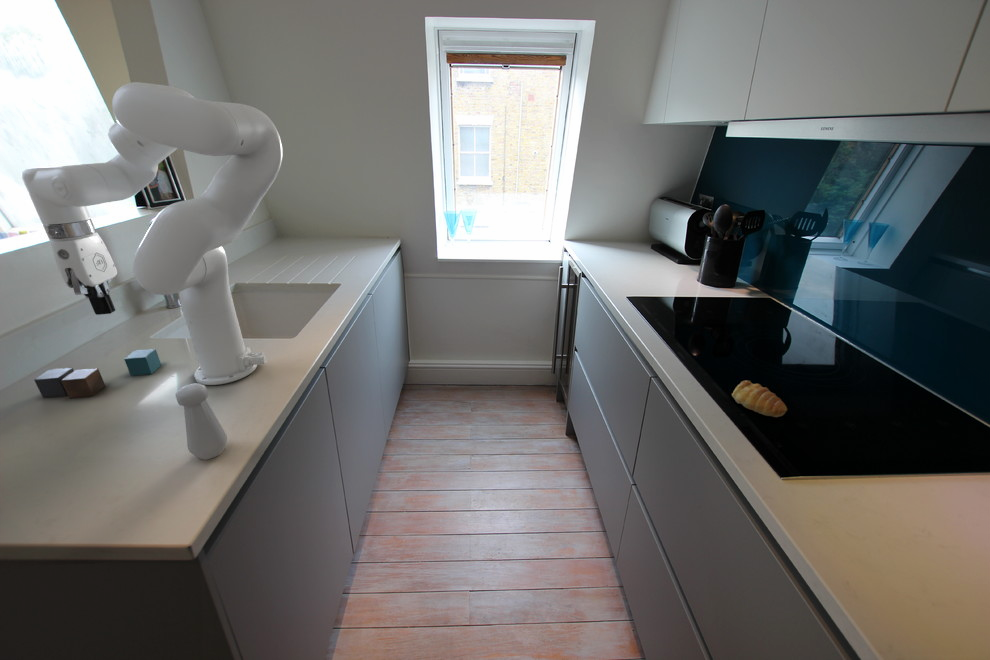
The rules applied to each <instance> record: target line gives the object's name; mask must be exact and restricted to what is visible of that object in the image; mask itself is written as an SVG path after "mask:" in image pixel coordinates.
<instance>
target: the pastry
mask: <svg viewBox="0 0 990 660" xmlns="http://www.w3.org/2000/svg"><path fill="white" fill-rule="evenodd" d="M731 397H732V398H733V399H734V400H735V402H736V403H737V404H741V405H742V406H743V407H744V408H746V409H748V410H751V411H753V412H754V413H757V414H761V415H762V416H766V417H773V418H781V417H782V416H784V415H785V414H786V412H787V411H788V407H787V406H786V404H785V402H783V400H782V399H781V398H780V397H778V396H777V395H776V393H774V392H771V390H770V389H769V388H768V387H763V386H762V385H761V384H760V383H752V382H751V380H743V381H741V382H740V383H739V384H737V386H735V388H734V390H733V392H732V393H731Z"/></svg>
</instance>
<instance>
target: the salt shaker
mask: <svg viewBox="0 0 990 660" xmlns="http://www.w3.org/2000/svg"><path fill="white" fill-rule="evenodd" d="M208 397H209V392H208V389H207V386H206V385H205V384H201V383H198V382H197V383H190V384H186V385H184V386H182V387H180V388H179V389H178V390H177V391H176V393H175V398H176V402H177V404H178V405H179V406H181V407H183V412H184V422H185V432H186V434H185V435H186V447H187V450H188V452H189V453H191V454H192V455H193V456H194V457H196V458H197V459H198V460H205V461H209V460H211V459H214V458H216V457H219V456H220V455H221V454H222V453H223V452H224V451H225V449H226V447H227V446H226V445H227V441H228V435H227V433H226V431H225V429H224V428H223V426H222V425H221V423H220V421H219V420H218V418H217V416H216V415H215V412H214V410H213V409H212V407H211V406H210V404H209V403H208V400H207V398H208Z"/></svg>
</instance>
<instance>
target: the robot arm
mask: <svg viewBox="0 0 990 660" xmlns="http://www.w3.org/2000/svg"><path fill="white" fill-rule="evenodd" d="M111 109H112V113H113V116H114V118H115V120H116V122H115V123H113V124H112V125H111V126H110V127H109V129H108V133H107V136H108V140H109V142H110V144H111V146H112V147H113V149H114V150H115V151H116V153H118V154H116V155H115V156H114V157H112V158H111V159H110V160H108V161H106V162H95V163H82V164H72V165H63V166H39V167H29V168H25V169H23V170H21V174H20V175H21V180H22V181H23V183H24V186H25V188H26V191H27V194H28V195H29V196H30V200H31V202H32V204H33V206H34V208H35V211H36V213H37V215H38V217H39V220H40V222H41V224H42V226H43V229H44V231H45V233H46V236H47V238H48V240H49V241H50V245H51V249H52V253H53V257H54V260H55V262H56V265H57V268H58V270H59V273H60V275H61V278H62V279H63V282H64V283H65V285H66V286H67V287H68V288H70V289H73V292H74V295H76V296H78V295H83V296H84V297H85V298H86V299H88V301H89V303H90V304H91V307H92V309H93V312H94V315H96V316H100V315H111V314H112V313H114V312H115V311H116V308H115V304H114V303H113V300H112V298H111V295H110V293H111V291H110V287H109V285H110V283H111V282H112V281H113V279H114V278H115V277H116V276H117V275H118V270H117V267H116V265H115V262H114V260H113V258H112V255H111V254H110V252H109V249H108V247H107V246H106V244H105V242H104V240H103V239H102V237H101V236H100V234H99V233H98V232H97V230H96V228H95V225H94V223H93V220H92V218H91V215H90V212H89V210H88V208H87V207H89V206H90V207H91V206H94V205H95V206H97V205H101V204H106V203H112V202H119V201H124V200H127V199H129V198H132V197H133V196H135V195H137V194H138V193H139V192H141V191H142V190H144V188H146V187H148V185H150V184H151V183H152V182H153V181H154V180H155V178H156V176H157V173H158V170H159V164H160V163H162V162H163V161H164V160H165V159H167V158H168V157H169V156H170V155H171V154H173V153H174V152H175V151H176V150H182V151H186V152H189V153H194V154H198V155H203V156H210V157H224V156H225V157H226V156H230V157H229V158H228V160H226V161H225V162H224V163H223V165H222V166H220V168H219V169H218V170H217V171H216V173H215V174H214V175H213V177H212V179H211V181H210V183H209V185H207V188H205V190H204V191H203V193H202V194H200V195H198V196H197V197H193V198H189V199H185V200H180V201H176V202H174V203H171V204H169V205H167V206H165V207H164V208H162V209H161V210H160V212H158V214H157V215H156V216H155V217H154V219H153V221H152V223H151V224H150V226H149V228H148V230H147V231H146V233H145V235H144V237H143V239H142V240H141V242H140V244H139V246H138V248H137V249H136V252H135V254H134V257H133V261H132V273H133V276H134V279H135V280H136V282H137V283H138V285H140V287H141V288H142V289H144V291H145V290H146V291H147V292H149V293H151V294H153V295H154V294H155V295H159V296H170V295H174V294H177V293H179V303H180V307H181V311H182V314H183V318H184V321H185V324H186V327H187V331H188V334H189V336H190V340H191V343H192V346H193V349H194V352H195V355H196V359H197V362H198V364H199V367H198V368H196V370H195V371H194V374H193V376H194V379H195V382H197V383H199V384H202V385H204V386H206V385H207V386H217V385H219V386H220V385H224V384H230V383H233V382H236V381H239V380H242V379H244V378H246V377H247V376H249V375H250V374H252V373H253V372H254V371H255V370H256V369H257V368H258V365H266V364H267V363H268V359H267V356H266V355H265V353H264V352H256V353H255V352H252V351H251V347H250V346H245V342H244V338H243V334H242V330H241V326H240V323H239V319H238V315H237V311H236V308H235V303H234V300H233V295H232V291H231V288H230V286H231V285H230V279H229V265H228V257H227V254H226V251H225V248H224V246H226V245H228V244H230V243H232V242H234V241H236V240H237V239H238V238H239V236H240V235H241V233H242V232H243V230H244V229H245V227H246V226H247V224H248V223H249V221H250V220H251V218H252V217H253V215H254V213H255V212H256V210H257V208H258V207H259V205H260V203H261V202H262V200H263V198H264V197H265V196H266V194H267V193H268V191H269V189H270V188H271V186H272V185H273V183H274V182H275V180H276V178H277V177H278V174H279V172H280V170H281V166H282V162H283V145H282V140H281V137H280V133H279V131H278V129H277V127H276V125H275V123H274V121H272V119H271V118H270V117H269V116H268V115H267V114H266V113H264V112H263V111H262V110H260V109H258V108H256V107H254V106H252V105H248V104H243V103H238V102H237V103H236V102H227V101H217V100H216V101H215V100H204V99H199V98H196V97H194V95H193V94H191V93H190V92H188V91H187V90H184V89H182V88H179V87H177V86H176V87H175V86H172V85H166V84H158V83H148V82H140V81H135V82H134V81H133V82H128V83H125V84H123V85H121V86H120V87H118V89H116V91H115V92H114V94H113V97H112V100H111Z"/></svg>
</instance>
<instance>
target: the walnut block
mask: <svg viewBox="0 0 990 660" xmlns="http://www.w3.org/2000/svg"><path fill="white" fill-rule="evenodd" d="M61 382H62V384H63V386H64V388H65V390H66V392H67V394H68V395H67V396H68V398H69V399H76V398H88V397H94V396H95V395H96V394H97V393H98V392H100V391H101V390H102V389H103V388H105V387H106V383H105V380H104V379H103V376H102V375H101V372H100V369H99V368H98V367H96V368H85V369H83V368H82V369H74V371H73V372H72V373H70V374H69V375H68V376H66V377H65V378H64V379H62V380H61Z"/></svg>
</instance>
